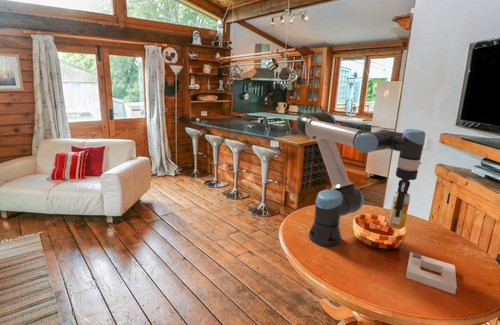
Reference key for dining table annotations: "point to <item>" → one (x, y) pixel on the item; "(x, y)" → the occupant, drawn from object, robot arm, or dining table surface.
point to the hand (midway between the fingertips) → (396, 220)
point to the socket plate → (441, 282)
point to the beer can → (404, 211)
